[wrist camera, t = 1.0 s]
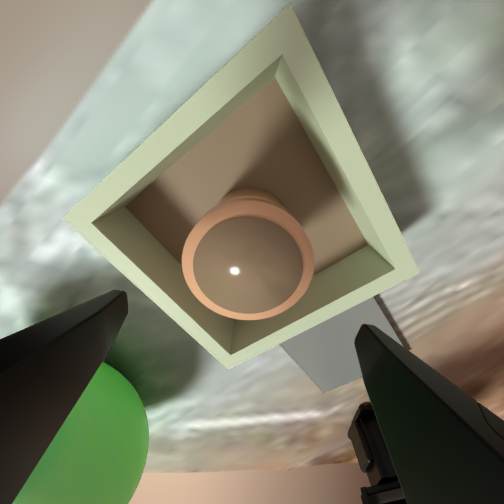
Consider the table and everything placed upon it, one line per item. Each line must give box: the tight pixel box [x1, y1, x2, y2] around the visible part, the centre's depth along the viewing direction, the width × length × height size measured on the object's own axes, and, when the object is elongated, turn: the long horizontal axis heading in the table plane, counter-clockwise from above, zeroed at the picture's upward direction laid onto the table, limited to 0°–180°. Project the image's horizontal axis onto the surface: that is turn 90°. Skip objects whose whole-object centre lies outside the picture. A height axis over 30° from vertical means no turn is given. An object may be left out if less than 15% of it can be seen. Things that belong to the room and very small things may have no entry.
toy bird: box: [12, 362, 149, 504], centre depth 20 cm, size 18×17×15 cm
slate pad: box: [279, 297, 404, 393], centre depth 24 cm, size 10×10×1 cm
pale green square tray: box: [62, 4, 420, 370], centre depth 17 cm, size 16×16×4 cm
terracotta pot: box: [182, 187, 314, 320], centre depth 15 cm, size 7×7×7 cm
